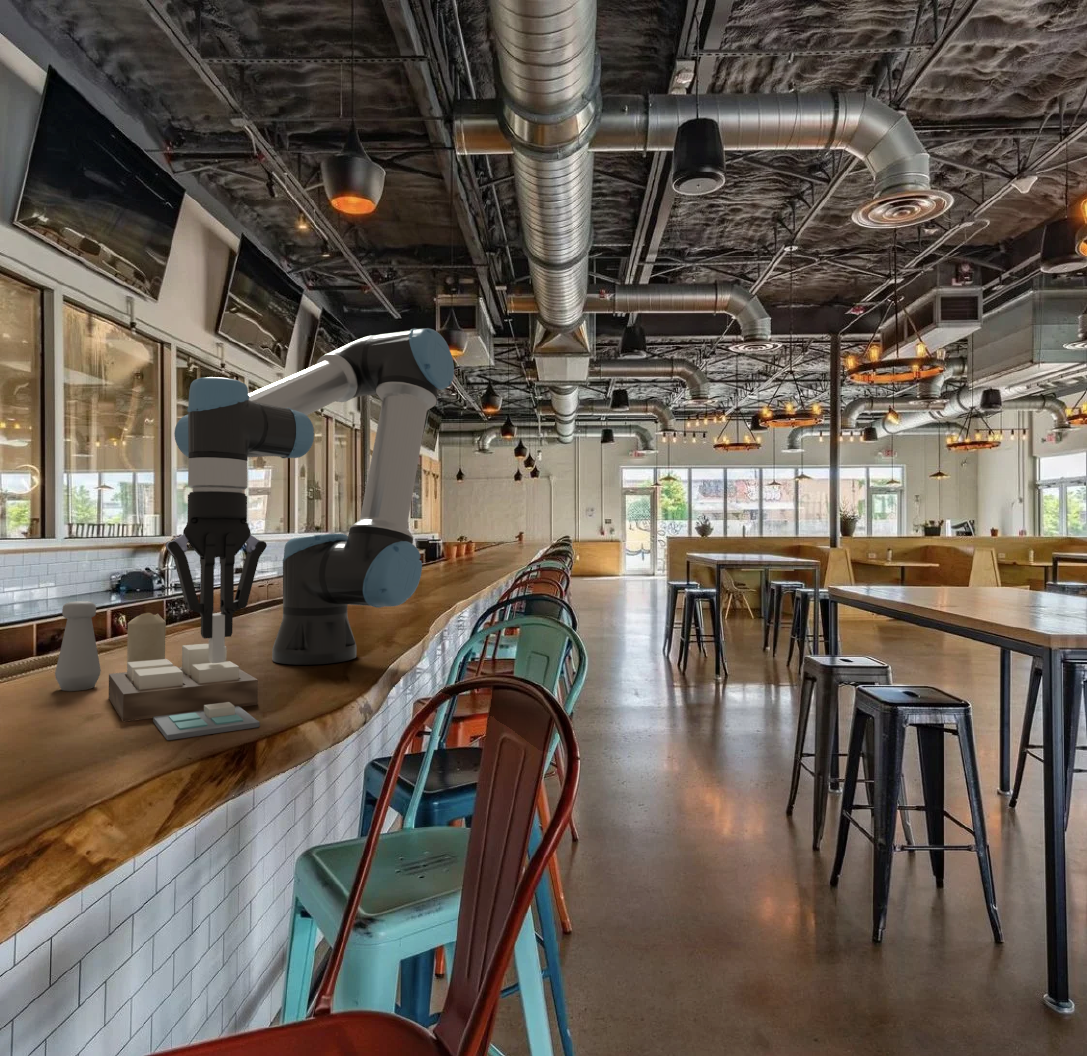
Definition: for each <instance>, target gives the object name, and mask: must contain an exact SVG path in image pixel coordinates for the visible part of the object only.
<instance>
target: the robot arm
mask: <svg viewBox="0 0 1087 1056" xmlns="http://www.w3.org/2000/svg"><path fill="white" fill-rule="evenodd" d="M454 375H455V365H454V358H453V355H452V352H451V349H450V347H449V345H448V342H447V341H446V340H445V338H444V337H443V336H442V335H441V333H439V332H438V331H436V330H435V329H432V328H429V327H427V328H416V327H414V328H411V329H410V330H404V331H395V332H388V333H380V334H373V335H367V336H364V337H361V338H358V339H356V340H354V341H351V342H349V343H347V344H345V345H343V346H340V347H339V348H337V349H334V350H332V351H330V352H328V353H325V354H324V355H322V356H320V357H319V358H318V360H317V361H316V363H315V364H313V365H312V366H309V367H307V368H306V369H305V368H304V369H302V370H301V371H298V372H296V373H293V374H291V375H288V376H287V377H284V378H282V379H280V380H278V381H275V382H273V383H270V384H268V385H265V386H264V387H261V388H259V389H256V390H254V391H253V392H249V388H248V386H247V384H246V383H244V382H242V381H241V380H237V379H233V378H228V377H219V376H218V377H215V376H214V377H213V376H209V377H208V376H207V377H199V378H196V379H194V380H193V381H192V382H191V383H190V385H189V386H190V387H189V393H188V406H187V409H186V410H187V414H186V415H184V416H182V417H181V418H180V419H179V420H178V421H177V423H176V425H175V427H174V433H173V436H174V441H175V443H176V446H177V448H178V450H179V451H180V452H181V454H183V455H184V456H185V457H188V461H187V462H188V466H187V467H188V469H187V472H188V473H187V487H188V488H189V489H192V491H190V492H189V494H187V523H186V526H185V527H184V528H183V532H182V534H181V535H180V536H178V537H176V538H175V539H173V540H168V541H166V543H165V544H164V545H165V549H166V550H167V551H168V552H169V554H170V556H171V557H172V558H173V561H174V564H175V565H174V566H175V568H176V573H177V577H178V581H179V583H180V585H179V586H180V588H181V592H182V596H183V599H184V603H185V607H186V609H188V610H189V611H191V612H195V613H198V614H200V635H201V637H202V638H203V639H205V640H206V639H208V644H209V658H208V660H209V661H210V662H212V663H221V662H225V646H226V644H225V643H226V640H225V639H226V638H227V637H232V636H233V635H232V634H233V618H234V617H233V616H234V615H233V614H235V612H238V611H239V610H241V609H245V608H246V607H247V606H248V602H249V599H250V596H251V590H252V588H253V583H254V579H255V576H256V571H257V567H258V564H259V560H260V557H261V556H262V554H263V553H264V551H265V550H266V548H267V545H268V544H267V542H266V541H263V540H259V539H258V538H257V537H255V536H253V535H252V534H251V529H250V527H249V526H248V496H247V495H246V493H243V491H245V490H247V489H248V459H249V458H261V457H265V458H266V457H278V458H281V459H299V458H301V457H304V456H305V455H306V454H308V452H309V451H311V448H312V446H313V443H314V440H315V433H314V432H315V428H314V426H313V422H312V421H311V419H310V417H309V415H311V414H313V413H315V412H317V411H319V410H321V409H323V408H325V407H326V406H329V405H331V404H333V403H335V402H339V403H346V402H348V401H350V400H353V399H355V398H358V397H365V396H378V397H379V399H380V400H381V407H380V411H379V416H378V421H377V428H376V433H375V437H374V444H373V450H372V454H371V460H370V464H369V469H368V474H367V475H368V476H367V481H366V486H365V491H364V497H363V502H362V506H361V512H360V517H359V520H358V521H356V522H355V523H354V524H352V525H350V527H349V530H348V534H345V533H323V534H314V535H313V534H311V535H305V536H297V537H294V538H290V539H289V540H288V541H286V542H285V545H284V549H283V550H284V552H283V558H282V603H283V604H282V619H281V620H282V621H281V622H280V626H279V629H278V631H277V635H276V638H275V640H274V643H273V646H272V649H271V650H272V651H271V652H272V653H271V654H272V655H271V656H272V657H271V659H272V661H273V662H274V663H278V664H283V665H297V666H298V665H300V666H301V665H305V666H307V665H310V666H311V665H326V664H327V665H328V664H335V663H336V664H337V663H344V662H347V661H351V660H353V659H356V658H357V642H356V640H355V637H354V633H353V631H352V627H351V624H350V621H349V617H348V605H349V606H367V607H368V606H369V607H370V606H371V607H374V608H378V609H379V608H380V609H381V608H384V607H388V608H389V607H396V606H401V605H402V604H404V603H406V601H407V600H408V599H410V598H411V597H412V596H413V594H414V593H415V592H416V590H417V588H418V586H419V584H420V580H421V577H422V572H423V563H422V560H420V559H421V553H420V551H419V548H417V547H416V546H415V544H413V543H414V536H413V534H412V533H411V532H410V530H409V529H408V523H409V518H410V512H411V511H410V510H411V504H412V500H413V499H412V498H413V495H414V494H413V493H414V488H415V484H416V483H415V482H416V477H417V476H416V475H417V471H418V465H419V458H420V453H421V448H422V441H423V436H424V431H425V423H426V419H427V414H428V413H427V412H428V411H429V410H430V409H432V408H433V407H435V406H436V405H437V401H438V396H439V390H445V389H447V388H449V386H451V385H452V383H453V380H454ZM187 543H188V544H189V545H190V546H191V547H192V549H193V550H194V551H195V553H196V554H197V555H198V556H199V565H200V592H199V593H200V594H199V595H200V599H198V595H197V591H196V588H195V584H194V580H193V577H192V572H191V568H190V564H189V561H188V558H187V554H186V552H188V546H187ZM245 544H246V546H245V550H246V552H247V553H246V555H245V558H244V562H243V566H242V570H241V574H240V577H239V581H238V585H237V588H236V593H235V590H234V589H235V588H234V587H235V586H234V585H235V581H234V580H235V576H234V575H235V573H234V572H235V571H234V570H235V564H236V563H235V561H236V555H237V554H238V553H239V552H240V550H241V549H242V548H243V546H244V545H245ZM216 558H219V564H220V579H219V580H220V581H219V582H220V584H219V585H220V586H219V588H220V590H219V591H220V592H219V593H220V594H219V597H220V598H219V599H220V601H219V604H220V605H219V610H220V612H218V613H214V605H215V604H214V601H215V600H214V599H215V598H214V595H215V591H214V589H215V578H214V577H215V564H216ZM234 593H235V597H234Z"/></svg>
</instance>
